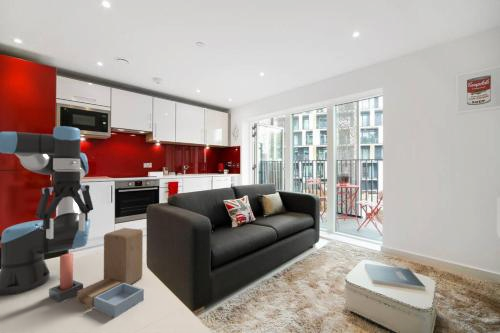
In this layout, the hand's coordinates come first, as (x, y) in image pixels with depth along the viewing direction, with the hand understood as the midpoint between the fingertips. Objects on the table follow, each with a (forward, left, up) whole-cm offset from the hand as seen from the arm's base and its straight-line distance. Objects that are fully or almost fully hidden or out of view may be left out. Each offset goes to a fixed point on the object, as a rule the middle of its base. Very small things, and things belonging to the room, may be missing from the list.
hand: (66, 234), depth 80 cm
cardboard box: (+12, +4, -22) cm, 25 cm away
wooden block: (+10, +15, -22) cm, 28 cm away
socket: (0, 0, -22) cm, 22 cm away
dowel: (0, 0, -22) cm, 22 cm away
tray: (+22, +4, -22) cm, 31 cm away
